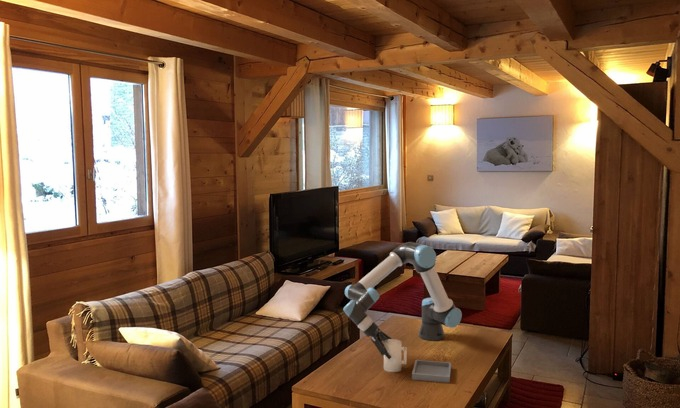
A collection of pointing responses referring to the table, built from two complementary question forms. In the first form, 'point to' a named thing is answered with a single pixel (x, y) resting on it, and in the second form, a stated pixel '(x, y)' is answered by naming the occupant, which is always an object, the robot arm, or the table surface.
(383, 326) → the table surface
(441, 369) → the slate tray
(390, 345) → the white pitcher
